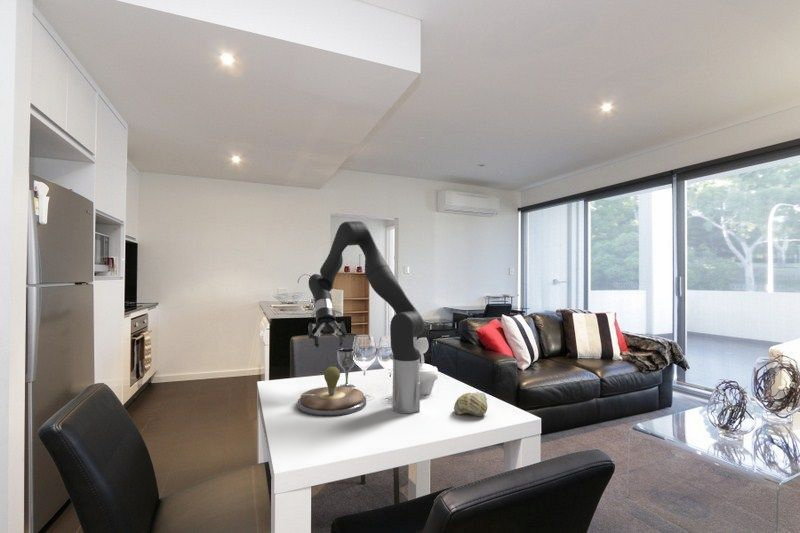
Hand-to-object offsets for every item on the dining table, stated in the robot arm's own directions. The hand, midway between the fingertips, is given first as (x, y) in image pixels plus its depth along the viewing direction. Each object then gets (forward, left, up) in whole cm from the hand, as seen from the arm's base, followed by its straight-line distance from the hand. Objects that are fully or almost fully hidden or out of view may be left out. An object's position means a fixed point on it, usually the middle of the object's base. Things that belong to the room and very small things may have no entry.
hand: (329, 345), depth 143 cm
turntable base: (-3, +8, -19) cm, 21 cm away
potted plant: (-36, -7, -19) cm, 41 cm away
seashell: (-51, +16, -20) cm, 57 cm away
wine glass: (-5, -14, -19) cm, 25 cm away
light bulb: (-3, +8, -16) cm, 18 cm away
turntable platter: (-3, +8, -18) cm, 19 cm away
